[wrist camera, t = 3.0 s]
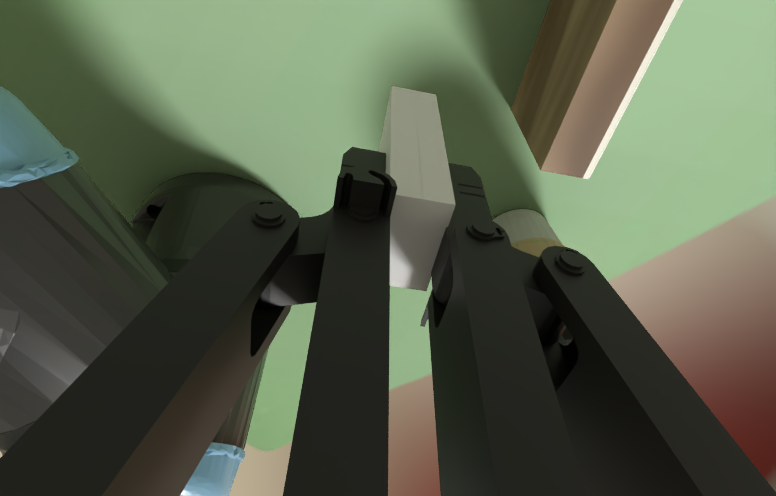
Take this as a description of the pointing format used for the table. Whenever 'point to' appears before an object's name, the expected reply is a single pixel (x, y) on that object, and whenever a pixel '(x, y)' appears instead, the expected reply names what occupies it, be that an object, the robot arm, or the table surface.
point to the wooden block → (586, 77)
